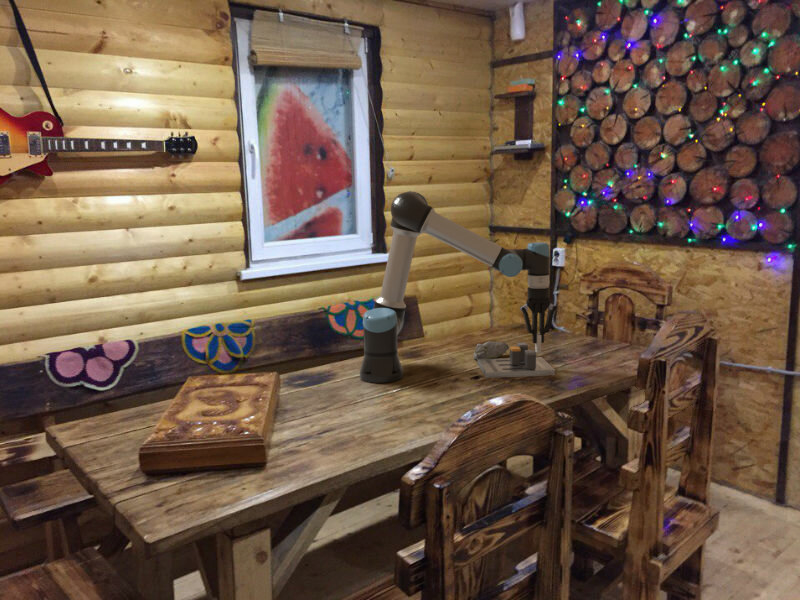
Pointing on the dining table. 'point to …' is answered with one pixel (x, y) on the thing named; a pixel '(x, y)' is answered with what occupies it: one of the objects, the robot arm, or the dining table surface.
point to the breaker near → (530, 359)
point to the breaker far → (522, 349)
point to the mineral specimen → (490, 350)
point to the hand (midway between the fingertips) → (538, 351)
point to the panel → (513, 368)
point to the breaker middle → (515, 355)
